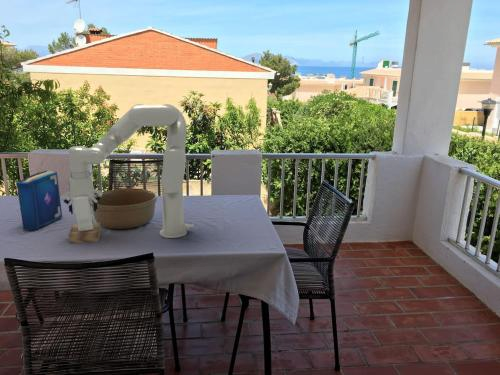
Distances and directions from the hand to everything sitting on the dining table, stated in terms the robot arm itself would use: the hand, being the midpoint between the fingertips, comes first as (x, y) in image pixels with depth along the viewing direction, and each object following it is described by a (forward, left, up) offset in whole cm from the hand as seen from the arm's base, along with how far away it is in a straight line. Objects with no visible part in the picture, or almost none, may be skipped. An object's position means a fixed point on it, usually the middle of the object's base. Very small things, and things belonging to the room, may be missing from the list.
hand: (83, 211), depth 183 cm
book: (+18, -26, -12) cm, 34 cm away
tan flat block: (0, 0, -13) cm, 13 cm away
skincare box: (0, 0, -8) cm, 8 cm away
